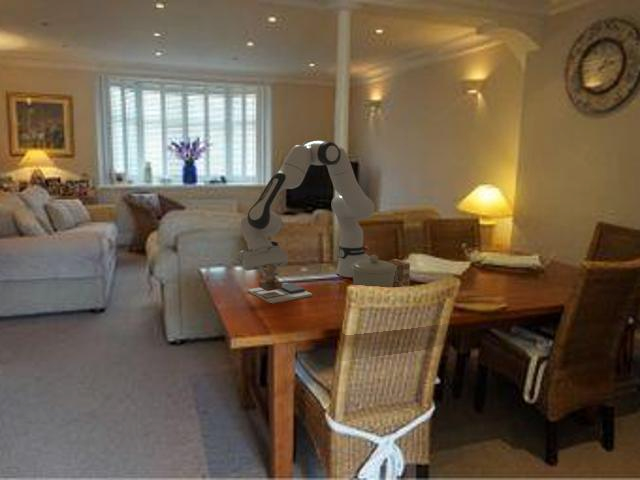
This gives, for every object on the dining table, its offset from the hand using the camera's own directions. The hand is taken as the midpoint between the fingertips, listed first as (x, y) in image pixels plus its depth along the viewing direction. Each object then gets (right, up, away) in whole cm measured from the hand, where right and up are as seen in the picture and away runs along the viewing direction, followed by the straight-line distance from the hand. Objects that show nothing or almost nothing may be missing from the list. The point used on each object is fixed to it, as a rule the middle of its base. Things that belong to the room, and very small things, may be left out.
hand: (271, 275), depth 221 cm
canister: (+41, -12, -11) cm, 44 cm away
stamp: (0, -5, +2) cm, 6 cm away
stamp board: (+3, -8, +5) cm, 10 cm away
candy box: (+54, -9, +4) cm, 55 cm away
